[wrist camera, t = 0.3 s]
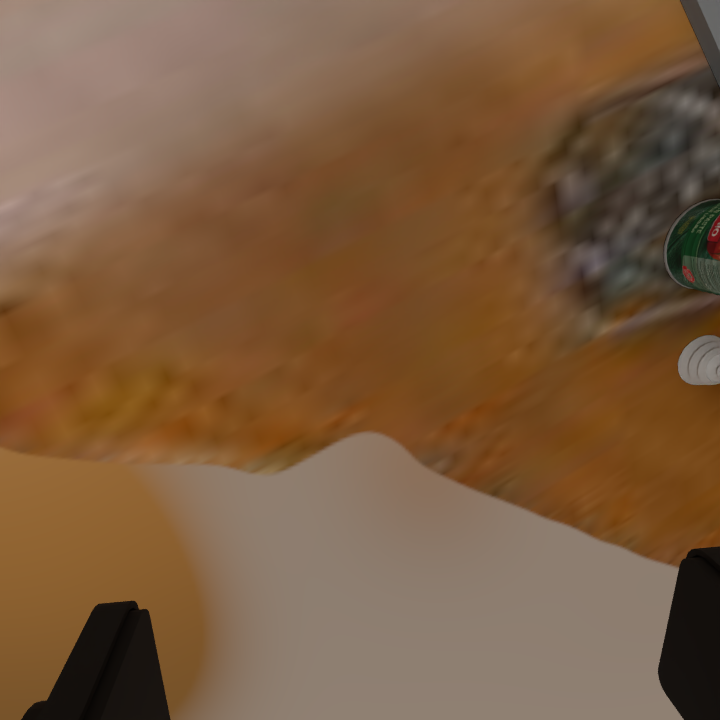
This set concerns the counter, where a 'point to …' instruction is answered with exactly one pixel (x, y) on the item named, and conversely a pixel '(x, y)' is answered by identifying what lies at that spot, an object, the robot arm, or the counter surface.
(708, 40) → the plate
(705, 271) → the canned tomato
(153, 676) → the robot arm
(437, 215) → the counter surface
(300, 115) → the counter surface
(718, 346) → the chalice
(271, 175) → the counter surface
